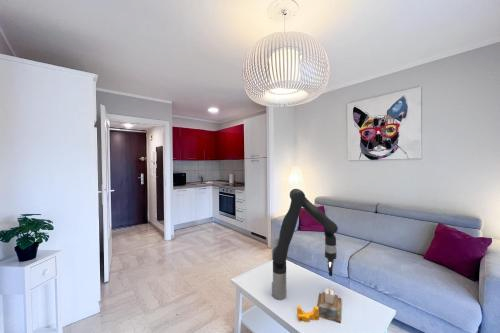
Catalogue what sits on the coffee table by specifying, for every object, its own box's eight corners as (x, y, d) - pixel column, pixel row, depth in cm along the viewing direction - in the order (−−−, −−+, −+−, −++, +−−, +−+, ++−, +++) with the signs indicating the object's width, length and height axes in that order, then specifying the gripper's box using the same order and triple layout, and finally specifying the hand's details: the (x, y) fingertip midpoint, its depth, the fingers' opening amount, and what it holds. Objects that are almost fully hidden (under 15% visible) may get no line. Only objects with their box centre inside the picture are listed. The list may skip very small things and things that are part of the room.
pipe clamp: (298, 321, 123) (298, 310, 123) (297, 316, 127) (297, 305, 127) (319, 322, 122) (319, 311, 122) (317, 316, 127) (317, 306, 127)
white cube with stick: (325, 302, 137) (325, 289, 137) (325, 296, 143) (325, 284, 142) (333, 304, 135) (333, 291, 135) (333, 298, 141) (333, 286, 140)
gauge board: (315, 315, 127) (315, 305, 127) (319, 294, 147) (319, 285, 147) (340, 323, 122) (340, 312, 121) (341, 300, 142) (341, 290, 141)
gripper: (325, 246, 153) (325, 269, 153) (323, 253, 141) (323, 279, 141) (336, 247, 150) (336, 271, 150) (336, 255, 138) (336, 281, 138)
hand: (330, 275), depth 146 cm, fingers closed
